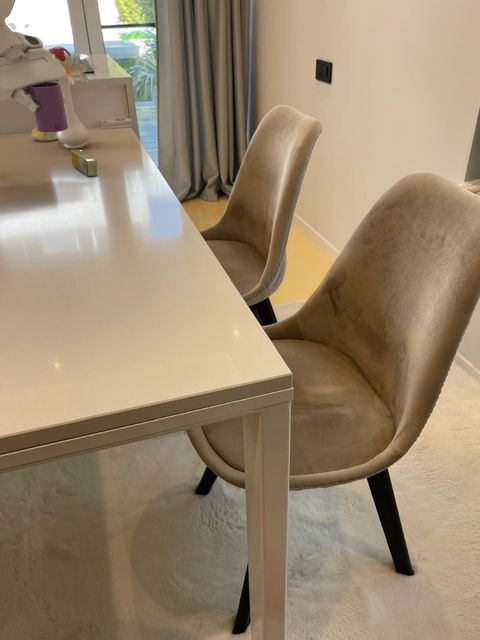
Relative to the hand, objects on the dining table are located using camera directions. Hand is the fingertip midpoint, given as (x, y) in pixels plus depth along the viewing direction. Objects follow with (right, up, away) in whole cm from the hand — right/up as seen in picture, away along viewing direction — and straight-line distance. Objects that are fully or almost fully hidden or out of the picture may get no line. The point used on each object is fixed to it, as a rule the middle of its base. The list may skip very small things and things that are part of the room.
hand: (50, 105), depth 122 cm
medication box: (0, -6, +26) cm, 26 cm away
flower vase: (-10, +8, +46) cm, 47 cm away
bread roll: (-21, +13, +54) cm, 60 cm away
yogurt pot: (-1, -4, +3) cm, 5 cm away
